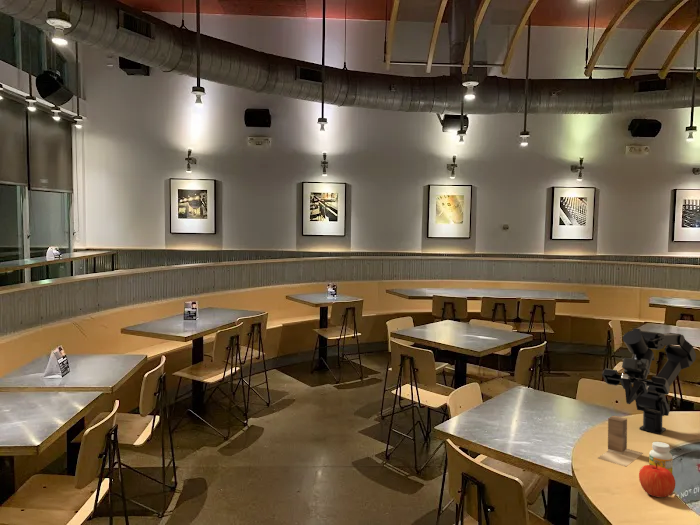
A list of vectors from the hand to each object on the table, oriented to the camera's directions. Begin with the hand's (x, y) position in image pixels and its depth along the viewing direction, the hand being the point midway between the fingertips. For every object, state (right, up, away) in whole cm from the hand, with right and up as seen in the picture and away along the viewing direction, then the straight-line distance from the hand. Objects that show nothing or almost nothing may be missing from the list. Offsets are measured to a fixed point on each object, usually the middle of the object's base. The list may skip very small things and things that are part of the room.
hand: (627, 403), depth 163 cm
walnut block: (-6, -13, -5) cm, 15 cm away
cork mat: (-7, -14, -9) cm, 18 cm away
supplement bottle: (-4, -14, -24) cm, 28 cm away
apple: (-10, -15, -32) cm, 37 cm away
